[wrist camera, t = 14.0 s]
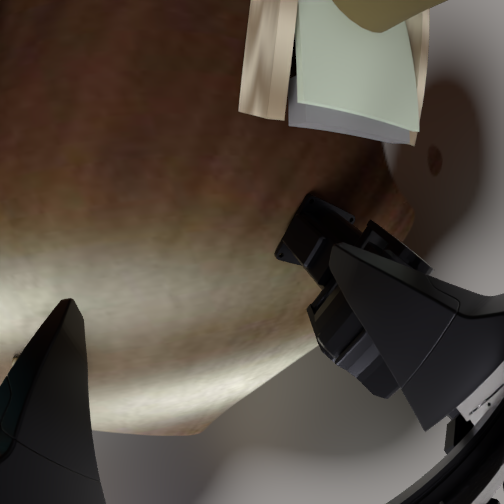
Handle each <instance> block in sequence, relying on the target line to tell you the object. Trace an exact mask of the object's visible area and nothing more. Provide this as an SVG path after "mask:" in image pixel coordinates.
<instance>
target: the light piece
mask: <svg viewBox="0 0 504 504" xmlns="http://www.w3.org/2000/svg"><path fill="white" fill-rule="evenodd" d="M295 43H296V66H297V75H296V76H294V77H292V78H290V79H289V85H288V101H289V126H295V127H303V128H311V129H318V130H325V131H331V132H337V133H343V134H349V135H354V136H359V137H364V138H369V139H374V140H378V141H383V142H387V143H403V144H410V134H409V130H410V131H413V132H419V111H418V98H417V87H416V79H415V71H414V64H413V57H412V52H411V46H410V41H409V36H408V31H407V27H406V22H405V21H403V22H401V23H400V24H398V25H396V26H394V27H392V28H390V29H389V30H387V31H384V32H382V33H376V32H371V31H368V30H366V29H364V28H362V27H360V26H359V25H357V24H356V23H354V22H353V21H351V20H350V19H349V18H348V17H347V16H346V15H345V14H344V13H342V12H341V11H340V10H339V9H338V7H337V6H336V5H335V4H334V2H333V1H332V0H298V6H297V15H296V24H295Z"/></svg>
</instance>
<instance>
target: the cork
mask: <svg viewBox="0 0 504 504" xmlns="http://www.w3.org/2000/svg"><path fill="white" fill-rule="evenodd" d="M332 1H333V2H334V4H335V5H336V6H337V7H338V9H339V10H340V11H341V12H342V13H344V14H345V15H346V16H347V17H348V18H349V19H350V20H351V21H353V22H354V23H356V24H357V25H359V26H360V27H362V28H364V29H366V30H368V31H371V32H376V33H382V32H384V31H387V30H389V29H390V28H392V27H394V26H396V25H398V24H400V23H401V22H403V21H405V20H407V19H409V18H411V17H413V16H415V15H417V14H419V13H421V12H423V11H425V10H427V9H429V8H432V7H434V6H436V5H438V4H440V3H442V2H445V1H447V0H332Z"/></svg>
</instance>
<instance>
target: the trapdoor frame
mask: <svg viewBox="0 0 504 504" xmlns="http://www.w3.org/2000/svg"><path fill="white" fill-rule="evenodd" d="M297 6H298V0H251V4H250V12H249V20H248V28H247V36H246V44H245V53H244V62H243V71H242V81H241V90H240V100H239V112H243V113H247V114H251V115H255V116H259V117H262V118H266V119H276V120H284V117H285V109H286V101H287V93H288V85H289V76H290V68H291V59H292V51H293V42H294V33H295V24H296V15H297ZM429 9H430V8H429ZM429 9H427V10H425V11H423V12H421V13H419V14H417V15H415V16H413V17H411V18H409V19H407V20H405V22H406V27H407V31H408V36H409V41H410V46H411V52H412V57H413V64H414V71H415V79H416V87H417V98H418V111H419V121H420V116H421V110H422V103H423V97H424V90H425V82H426V73H427V63H428V49H429V25H430V16H429V15H430V10H429ZM409 134H410V144H409V145H412V146H415V141H416V136H417V132H413V131H410V130H409Z"/></svg>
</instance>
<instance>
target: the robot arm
mask: <svg viewBox="0 0 504 504" xmlns="http://www.w3.org/2000/svg"><path fill="white" fill-rule="evenodd" d="M310 199H312V201H311V202H309V201H310ZM354 221H355V216H353V215H352V214H350V213H349V212H347V211H345V210H343V209H341V208H339V207H337V206H335V205H333V204H330V203H328V202H326V201H324V200H322V199H320V198H318V197H316V196H314V195H311V194H309V195H307V196H306V197H305V199H304V201H303V202H302V204H301V206H300V208H299V210H298V212H297V213H296V215H295V217H294V219H293V221H292V222H291V224H290V226H289V228H288V230H287V231H286V233H285V235H284V237H283V239H282V240H281V242H280V244H279V246H278V248H277V249H276V251H275V257H276V258H277V259H278V260H281V261H285V262H289V263H293V264H297V265H301V266H303V267H304V268H305V270H306V271H307V272H308V273H309V274H310V276H311V277H312V278H313V279H314V281H315V282H316V283H317V284H318V286H319V287H320V288H321V289H322V291H321V292H320V294H319V295H318V296H317V298H316V299H315V300H314V302H313V303H312V304H310V305H309V306H308V308H307V312H308V315H309V318H310V321H311V324H312V327H313V330H314V333H315V336H316V339H317V342H318V344H319V346H320V348H321V350H322V352H323V353H324V354H326V355H327V357H328V358H330V359H331V360H332V361H333V362H335V364H336V365H338V366H340V367H341V368H343V369H345V370H347V371H348V372H349V373H351V374H352V375H353V376H355V377H356V378H357V379H358V380H359V381H360V382H362V384H363V385H364V386H365V387H366V388H367V389H368V390H369V391H370V392H371V393H372V394H373V395H376V396H379V397H382V398H386V399H388V398H390V397H391V396H392V395H393V394H394V393H395V392H396V391H398V390H399V389H401V390H402V391H403V393H404V395H405V397H406V399H407V400H408V402H409V404H410V406H411V408H412V409H413V411H414V413H415V415H416V417H417V418H418V420H419V422H420V424H421V426H422V428H423V429H424V431H427V430H429V429H430V428H431V427H433V426H434V425H435V424H436V423H438V422H439V421H440V420H442V419H443V418H444V417H446V416H448V417H449V418H450V419H451V421H450V422H449V423H448V424H447V431H446V440H445V448H444V451H445V452H446V454H447V455H446V456H445V457H444V458H443V459H442V460H441V461H440V462H439V463H438V464H437V465H436V466H434V467H433V468H432V469H431V470H430V471H429V472H427V473H426V474H425V475H424V476H423V477H422V478H420V479H419V480H418V481H417V482H415V483H414V484H413V485H411V486H410V487H409V488H408V489H406V490H405V491H403V492H402V493H401V494H399V495H398V496H397V497H395V498H394V499H392V500H391V501H389V502H388V503H386V504H500V503H499V501H498V500H497V499H493V498H491V497H492V496H493V495H494V493H495V492H496V491H497V489H498V488H499V487H500V486H501V484H502V483H503V488H504V294H500V295H496V296H483V295H480V294H477V293H474V292H471V291H469V290H466V289H463V288H460V287H458V286H455V285H452V284H449V283H447V282H444V281H441V280H439V279H437V278H434V277H432V276H431V274H432V273H433V271H434V269H433V268H432V267H430V266H429V265H428V264H427V263H426V262H425V261H424V260H422V259H421V258H420V257H419V256H417V255H416V254H415V253H414V252H413V251H412V250H410V249H409V248H408V247H406V246H405V245H404V244H403V243H401V242H400V241H399V240H398V239H396V238H395V237H394V236H392V235H391V234H390V233H388V232H387V231H386V230H384V229H383V228H382V227H380V226H379V225H378V224H376V223H375V222H373V221H372V220H371V219H370V221H369V222H368V224H367V227H366V229H365V230H364V232H363V233H362V232H361V231H360V230H359V229H357V228H356V227H355V226H354V225H353V223H354ZM280 253H282V254H281V255H279V254H280ZM0 504H106V502H105V498H104V494H103V490H102V486H101V482H100V478H99V473H98V468H97V462H96V457H95V451H94V444H93V438H92V429H91V420H90V408H89V393H88V365H87V353H86V343H85V329H84V319H83V316H82V314H81V313H80V311H79V309H78V307H77V305H76V303H75V301H74V300H73V299H72V298H69V299H63V300H61V301H60V302H59V303H58V305H57V306H56V307H55V308H54V310H53V311H52V312H51V313H50V315H49V316H48V317H47V319H46V320H45V321H44V322H43V324H42V325H41V326H40V328H39V329H38V330H37V332H36V333H35V335H34V336H33V337H32V339H31V340H30V341H29V343H28V344H27V346H26V347H25V349H24V350H23V351H22V353H21V354H20V356H19V357H18V359H17V360H16V362H15V363H14V365H13V366H12V368H11V370H10V371H9V373H8V376H6V377H5V379H4V381H3V382H2V384H1V386H0Z"/></svg>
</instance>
